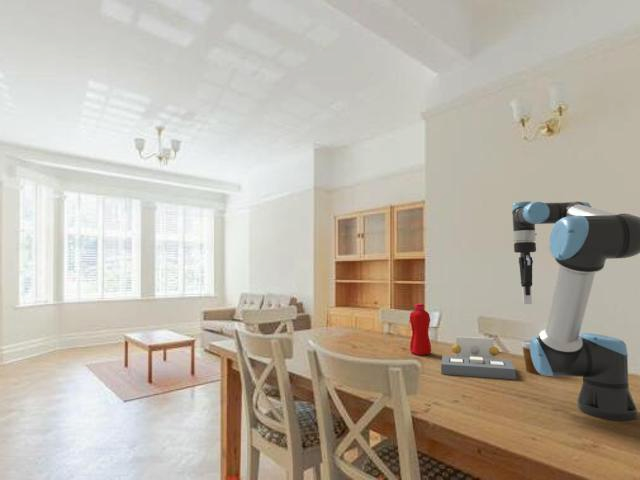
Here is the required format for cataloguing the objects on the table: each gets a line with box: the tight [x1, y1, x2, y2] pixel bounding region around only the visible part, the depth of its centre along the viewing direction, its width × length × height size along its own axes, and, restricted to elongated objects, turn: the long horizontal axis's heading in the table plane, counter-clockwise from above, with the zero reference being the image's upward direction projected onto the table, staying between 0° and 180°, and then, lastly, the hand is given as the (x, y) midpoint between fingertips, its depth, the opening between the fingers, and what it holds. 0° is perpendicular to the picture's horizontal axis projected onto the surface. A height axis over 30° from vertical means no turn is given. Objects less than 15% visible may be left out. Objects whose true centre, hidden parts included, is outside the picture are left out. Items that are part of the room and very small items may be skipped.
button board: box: [440, 354, 517, 381], centre depth 171 cm, size 16×28×4 cm, turn 71°
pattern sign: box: [451, 336, 500, 359], centre depth 186 cm, size 6×20×12 cm, turn 71°
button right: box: [490, 361, 504, 365], centre depth 168 cm, size 5×5×3 cm
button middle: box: [470, 356, 483, 364], centre depth 171 cm, size 5×5×3 cm
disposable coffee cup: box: [521, 340, 540, 375], centre depth 169 cm, size 10×10×12 cm
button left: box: [450, 358, 463, 363], centre depth 173 cm, size 5×5×3 cm
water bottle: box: [408, 303, 432, 356], centre depth 204 cm, size 9×11×25 cm
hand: (527, 303), depth 154 cm, fingers closed
